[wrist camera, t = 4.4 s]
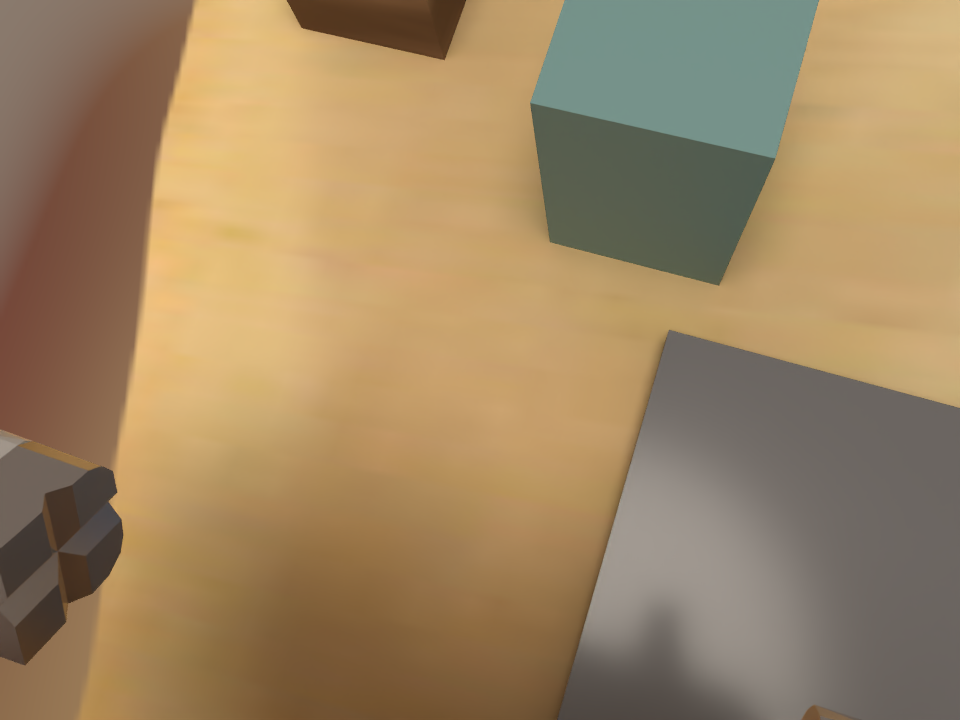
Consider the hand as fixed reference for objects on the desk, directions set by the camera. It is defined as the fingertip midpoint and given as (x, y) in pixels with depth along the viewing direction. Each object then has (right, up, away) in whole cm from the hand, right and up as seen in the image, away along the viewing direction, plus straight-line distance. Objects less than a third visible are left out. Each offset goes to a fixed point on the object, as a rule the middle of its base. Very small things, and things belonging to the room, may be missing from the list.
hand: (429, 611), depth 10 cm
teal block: (+6, +8, +16) cm, 19 cm away
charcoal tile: (+10, -5, +12) cm, 16 cm away
